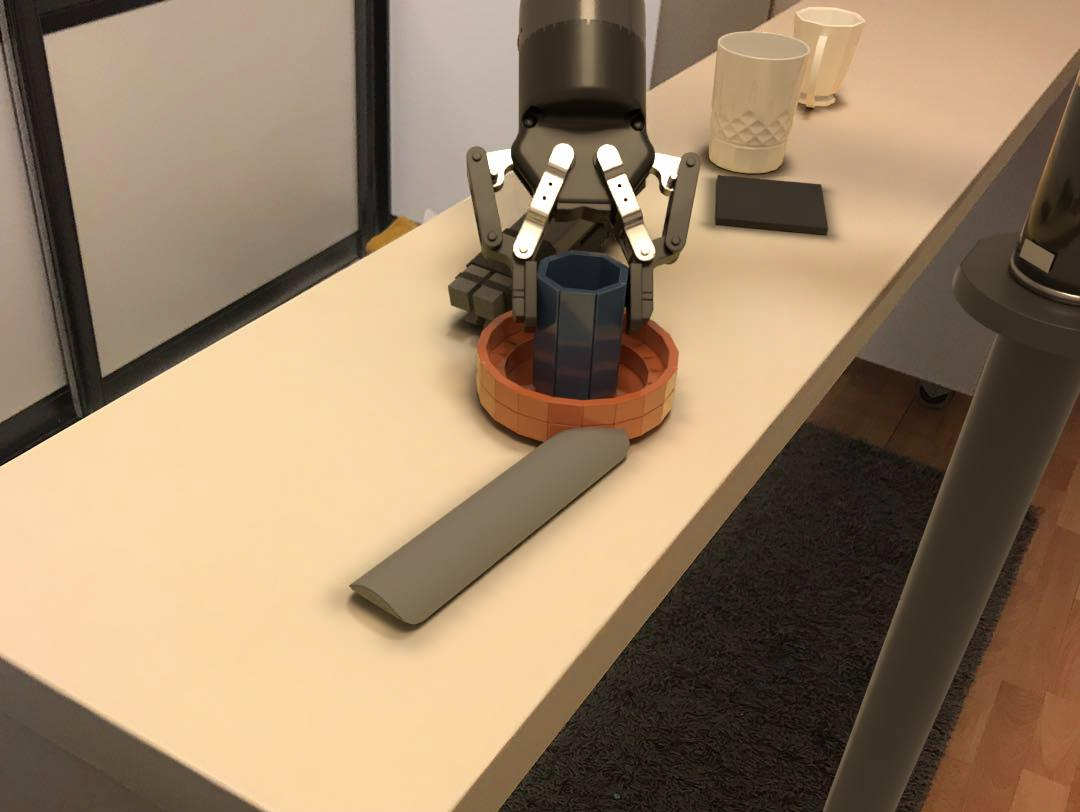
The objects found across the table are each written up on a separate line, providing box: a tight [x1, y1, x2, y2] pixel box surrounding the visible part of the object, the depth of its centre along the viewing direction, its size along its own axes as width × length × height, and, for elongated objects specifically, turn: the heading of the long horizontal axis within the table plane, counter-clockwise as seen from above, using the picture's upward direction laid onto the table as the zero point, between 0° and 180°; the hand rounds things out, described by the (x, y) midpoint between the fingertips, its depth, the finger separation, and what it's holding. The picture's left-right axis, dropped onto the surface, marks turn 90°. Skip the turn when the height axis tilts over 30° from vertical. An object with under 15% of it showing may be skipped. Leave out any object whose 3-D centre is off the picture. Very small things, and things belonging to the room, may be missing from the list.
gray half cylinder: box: [348, 427, 631, 625], centre depth 57 cm, size 4×20×2 cm, turn 142°
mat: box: [715, 174, 829, 236], centre depth 90 cm, size 9×9×1 cm
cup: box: [793, 6, 867, 109], centre depth 107 cm, size 7×10×8 cm
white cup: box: [708, 30, 810, 174], centre depth 94 cm, size 8×8×10 cm
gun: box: [447, 179, 647, 329], centre depth 78 cm, size 4×20×10 cm, turn 147°
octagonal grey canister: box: [532, 250, 629, 400], centre depth 64 cm, size 5×5×8 cm
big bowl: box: [475, 310, 680, 443], centre depth 66 cm, size 12×12×4 cm
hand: (582, 329), depth 62 cm, fingers closed on octagonal grey canister, 5 cm apart
